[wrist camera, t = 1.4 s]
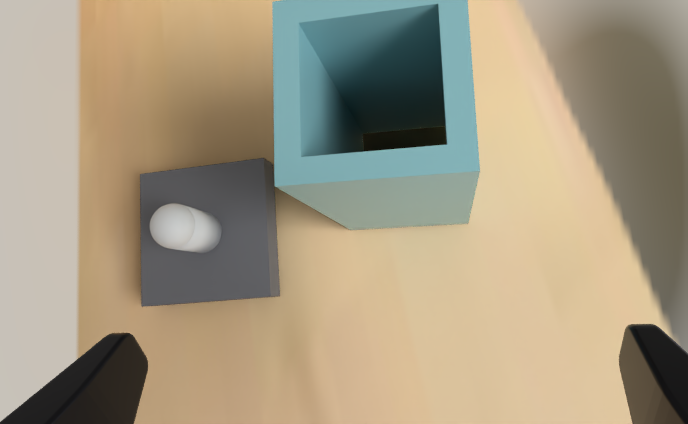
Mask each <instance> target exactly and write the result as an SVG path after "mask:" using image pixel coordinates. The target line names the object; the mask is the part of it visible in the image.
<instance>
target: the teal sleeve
mask: <svg viewBox="0 0 688 424" xmlns="http://www.w3.org/2000/svg"><path fill="white" fill-rule="evenodd" d="M273 89H274V181H275V187H277V188H278V189H280V190H282V191H284V192H285V193H287V194H289V195H290V196H292V197H294V198H296V199H297V200H299V201H301V202H303V203H304V204H306V205H308V206H310V207H311V208H313V209H315V210H317V211H318V212H320V213H322V214H324V215H325V216H327V217H329V218H331V219H332V220H334V221H336V222H338V223H339V224H341V225H343V226H345V227H346V228H348V229H350V230H361V229H379V228H398V227H416V226H434V225H452V224H468V222H469V217H470V213H471V208H472V204H473V199H474V195H475V190H476V186H477V181H478V177H479V173H480V167H479V153H478V139H477V125H476V112H475V98H474V84H473V70H472V57H471V43H470V29H469V15H468V2H467V0H281V1H275V2H273ZM441 126H445V137H446V145H435V146H424V147H412V148H400V149H388V150H377V151H365V152H364V148H363V134H366V133H376V132H387V131H398V130H409V129H420V128H431V127H441Z"/></svg>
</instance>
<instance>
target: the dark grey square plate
mask: <svg viewBox="0 0 688 424" xmlns="http://www.w3.org/2000/svg"><path fill="white" fill-rule="evenodd" d="M140 207H141V300H142V306H159V305H172V304H185V303H198V302H211V301H224V300H237V299H250V298H263V297H275V296H280V287H279V268H278V249H277V230H276V212H275V193H274V174H273V164H272V163H270V162H269V161H267V160H266V159H264V158H260V159H252V160H245V161H237V162H229V163H222V164H214V165H207V166H199V167H191V168H184V169H176V170H168V171H161V172H153V173H145V174H140Z"/></svg>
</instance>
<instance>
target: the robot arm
mask: <svg viewBox="0 0 688 424" xmlns="http://www.w3.org/2000/svg"><path fill="white" fill-rule="evenodd" d="M619 366H620V372H621V376H622V380H623V385H624V389H625V393H626V397H627V402H628V406H629V410H630V415H631V419H632V423H633V424H688V353H687V352H686V351H684V350H683V349H682V348H681V347H680V346H679V345H678V344H677V343H676V342H675V341H673V340H672V339H671V338H670V337H669V336H668V335H667V334H666V333H665V332H664V331H662V330H661V329H660V328H659V327H657V326H656V325H653V324H631V325H628V326H627V327H626V329H625V332H624V337H623V341H622V346H621V350H620V355H619ZM147 371H148V361H147V358H146V356H145V354H144V352H143V351H142V349H141V348H140V346H139V344H138V343H137V341H136V339H135V338H134V336H133V335H131V334H130V333H112V334H109V335H107V336H106V337H104V338H103V339H102V340H101V341H99V342H98V343H97V344H96V345H94V346H93V347H92V348H91V349H90V350H88V351H87V352H86V353H85V354H83V355H82V356H81V357H80V358H78V359H77V360H76V361H75V362H74V363H72V364H71V365H70V366H69V367H68V368H66V369H65V370H64V371H63V372H61V373H60V374H59V375H58V376H56V377H55V378H54V379H53V380H51V381H50V382H49V383H48V384H46V385H45V386H44V387H43V388H42V389H40V390H39V391H38V392H37V393H36V394H34V395H33V396H32V397H30V398H29V399H28V400H27V401H26V402H24V403H23V404H22V405H21V406H19V407H18V408H17V409H16V410H14V411H13V412H12V413H11V414H10V415H8V416H7V417H6V418H5V419H3V420H2V421H1V422H0V424H134V421H135V417H136V413H137V409H138V406H139V402H140V398H141V394H142V390H143V387H144V383H145V379H146V375H147Z"/></svg>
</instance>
